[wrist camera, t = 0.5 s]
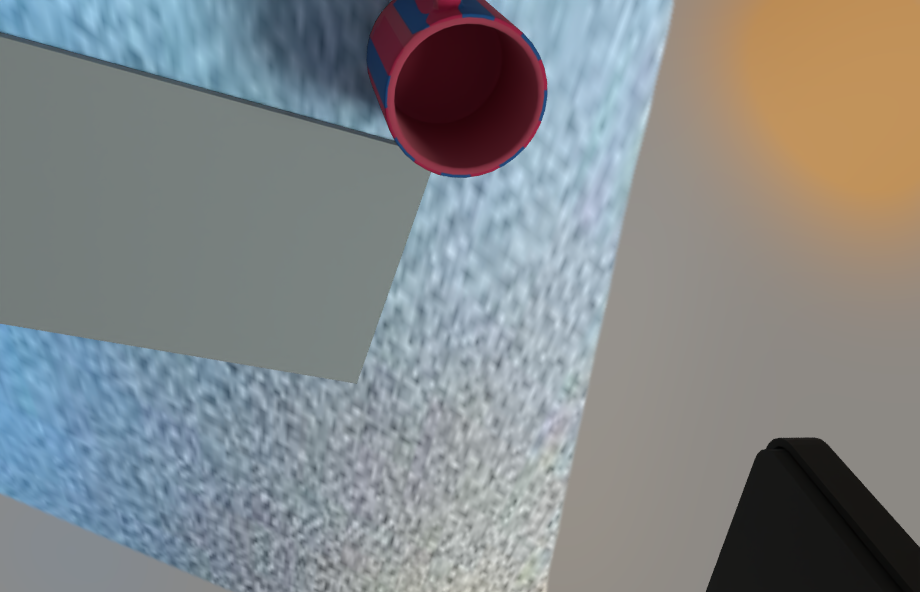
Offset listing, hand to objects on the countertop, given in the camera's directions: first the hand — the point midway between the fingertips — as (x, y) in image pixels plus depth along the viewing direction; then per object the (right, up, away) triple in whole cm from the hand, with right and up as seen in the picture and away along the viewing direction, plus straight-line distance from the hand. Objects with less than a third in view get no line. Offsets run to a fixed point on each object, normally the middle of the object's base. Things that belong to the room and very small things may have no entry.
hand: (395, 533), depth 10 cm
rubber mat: (-12, +6, +30) cm, 33 cm away
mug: (0, +16, +28) cm, 32 cm away
